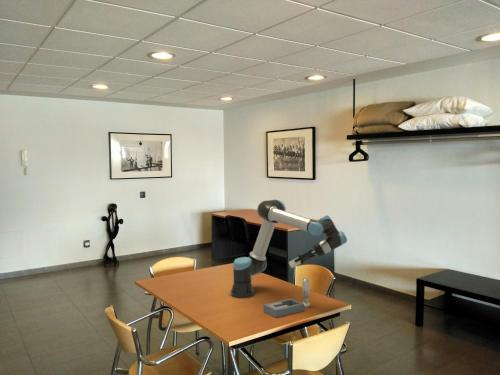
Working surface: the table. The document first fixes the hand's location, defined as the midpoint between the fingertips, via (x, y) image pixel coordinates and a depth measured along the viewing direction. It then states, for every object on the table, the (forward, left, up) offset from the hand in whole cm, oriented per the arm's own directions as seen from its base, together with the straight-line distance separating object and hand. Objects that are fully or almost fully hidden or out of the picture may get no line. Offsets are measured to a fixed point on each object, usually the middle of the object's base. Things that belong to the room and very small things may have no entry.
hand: (289, 265), depth 234 cm
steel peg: (-3, +9, -25) cm, 27 cm away
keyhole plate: (+8, -4, -25) cm, 26 cm away
